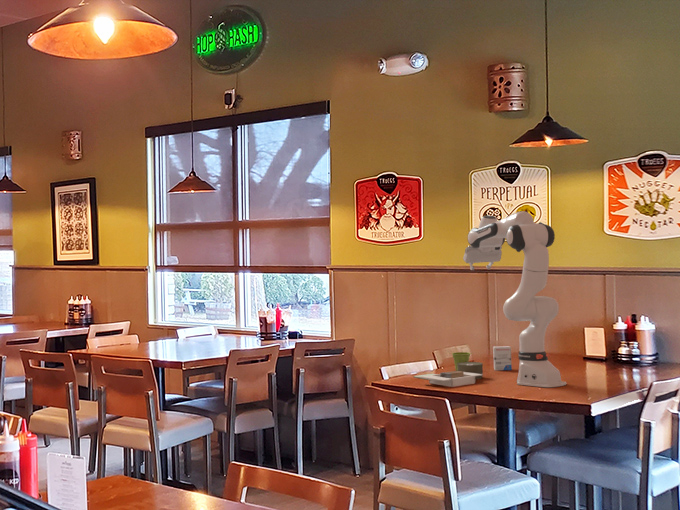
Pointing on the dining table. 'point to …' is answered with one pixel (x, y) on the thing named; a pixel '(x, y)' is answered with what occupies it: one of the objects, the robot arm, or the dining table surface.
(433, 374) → the sage mat
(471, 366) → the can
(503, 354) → the ink box
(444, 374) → the walnut box
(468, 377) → the grey tray
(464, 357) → the plant pot
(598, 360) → the dining table surface
